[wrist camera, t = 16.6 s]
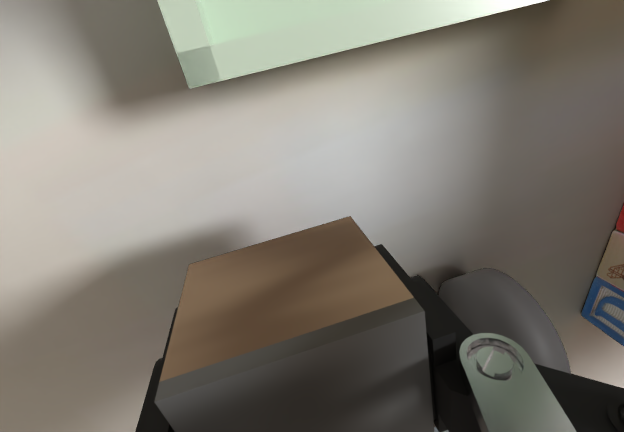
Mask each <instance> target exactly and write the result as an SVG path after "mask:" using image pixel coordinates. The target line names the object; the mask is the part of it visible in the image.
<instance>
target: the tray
mask: <svg viewBox="0 0 624 432" xmlns="http://www.w3.org/2000/svg"><path fill="white" fill-rule="evenodd" d="M544 1H548V0H157V2H158V4H159V7H160V10H161V13H162V15H163V18H164V21H165V24H166V26H167V29H168V32H169V35H170V37H171V40H172V43H173V46H174V48H175V51H176V54H177V57H178V59H179V62H180V65H181V68H182V70H183V73H184V76H185V79H186V81H187V84H188V87H189V89H191V88H195V87H199V86H203V85H207V84H211V83H215V82H219V81H223V80H227V79H231V78H236V77H240V76H244V75H248V74H252V73H256V72H260V71H264V70H268V69H272V68H276V67H280V66H284V65H288V64H292V63H296V62H300V61H305V60H309V59H313V58H317V57H321V56H325V55H329V54H333V53H337V52H341V51H345V50H349V49H353V48H357V47H361V46H365V45H369V44H373V43H378V42H382V41H386V40H390V39H394V38H398V37H402V36H406V35H410V34H414V33H418V32H422V31H426V30H430V29H434V28H438V27H442V26H447V25H451V24H455V23H459V22H463V21H467V20H471V19H475V18H479V17H483V16H487V15H491V14H495V13H499V12H503V11H507V10H511V9H515V8H520V7H524V6H528V5H532V4H536V3H540V2H544Z"/></svg>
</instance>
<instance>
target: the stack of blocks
mask: <svg viewBox="0 0 624 432" xmlns="http://www.w3.org/2000/svg"><path fill="white" fill-rule="evenodd" d="M581 316H582V317H584V318H585V319H587V320H588V321H589V322H591V323H592V324H594V325H595V326H596V327H598V328H599V329H601V330H602V331H603V332H604V333H606V334H607V335H609V336H610V337H612V338H613V339H614V340H616V341H617V342H618V343H620V344H621V345H623V346H624V205H623V207H622V210H621V213H620V215H619V218H618V221H617V223H616V229H615V230H614V231H613V232H612V235H611V238H610V240H609V243H608V246H607V248H606V251H605V253H604V256H603V258H602V261H601V263H600V266H599V268H598V271H597V274H596V277H595V279H594V281H593V283H592V286H591V289H590V291H589V294H588V297H587V299H586V302H585V305H584V307H583V310H582V313H581Z"/></svg>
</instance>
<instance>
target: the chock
mask: <svg viewBox="0 0 624 432" xmlns="http://www.w3.org/2000/svg"><path fill="white" fill-rule="evenodd" d="M154 402H155V404H156V405H157V407H158V408H159V410H160V411H161V412H162V414H163V415H164V417H165V418H166V420H167V421H168V422H169V424H170V425H171V427H172V428H173V430H174V431H175V432H434V420H433V408H432V395H431V383H430V371H429V358H428V346H427V334H426V322H425V311H424V310H423V308H422V307H421V306H420V305H419V303H418V302H417V301H416V299H415V298H414V297H413V296H412V294H411V293H410V292H409V290H408V289H407V288H406V287H405V285H404V284H403V283H402V282H401V280H400V279H399V278H398V276H397V275H396V274H395V273H394V271H393V270H392V269H391V267H390V266H389V265H388V264H387V262H386V261H385V260H384V259H383V257H382V256H381V255H380V253H379V252H378V251H377V250H376V248H375V247H374V246H373V245H372V243H371V242H370V241H369V239H368V238H367V237H366V236H365V234H364V233H363V232H362V230H361V229H360V228H359V227H358V225H357V224H356V223H355V222H354V220H353V219H352V218H351V216H349V217H346V218H343V219H339V220H336V221H333V222H329V223H326V224H322V225H319V226H316V227H312V228H309V229H306V230H302V231H299V232H296V233H292V234H289V235H286V236H282V237H279V238H276V239H272V240H269V241H266V242H262V243H259V244H256V245H252V246H249V247H246V248H242V249H239V250H236V251H232V252H229V253H225V254H222V255H219V256H215V257H212V258H209V259H205V260H202V261H199V262H195V263H192V264H189V267H188V271H187V275H186V279H185V283H184V287H183V290H182V294H181V298H180V302H179V306H178V310H177V314H176V318H175V322H174V326H173V330H172V334H171V338H170V342H169V346H168V350H167V354H166V358H165V362H164V366H163V370H162V374H161V377H160V381H159V385H158V389H157V393H156V397H155V401H154Z"/></svg>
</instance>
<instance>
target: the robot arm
mask: <svg viewBox="0 0 624 432" xmlns="http://www.w3.org/2000/svg"><path fill="white" fill-rule="evenodd" d="M374 247H375V248H376V250H377V251H378V252H379V253H380V255H381V256H382V257H383V259H384V260H385V261H386V262H387V264H388V265H389V266H390V267H391V269H392V270H393V271H394V273H395V274H396V275H397V276H398V278H399V279H400V280H401V282H402V283H403V284H404V285H405V287H406V288H407V289H408V290H409V292H410V293H411V294H412V296H413V297H414V298H415V299H416V301H417V302H418V303H419V305H420V306H421V307H422V308H423V310H424V311H425V322H426V334H427V346H428V358H429V371H430V383H431V395H432V408H433V420H434V424H435V426H436V428H437V430H438V431H439V432H444V431H446V430H448V431H449V432H624V388H620V387H616V386H613V385H609V384H606V383H602V382H599V381H595V380H592V379H588V378H584V377H581V376H577V375H574V374H570V373H567V372H563V371H559V370H556V369H552V368H549V367H545V366H542V365H538V364H535V363H533V361H532V360H531V358H530V356H529V355H528V354H527V352H526V351H525V350H524V349H523V348H522V347H521V346H520V345H519V344H517V343H516V342H514V341H513V340H511V339H509V338H507V337H504V336H502V335H498V334H493V333H479V334H475V335H474V334H473V333H472V332H471V331H470V330H469V329H468V328H467V327H466V326H465V324H464V323H463V322H462V321H461V320H460V319H459V318H458V317H457V316H456V314H455V313H454V312H453V311H452V310H451V309H450V308H449V307H448V306H447V305H446V303H445V302H444V301H443V300H442V299H441V298H440V297H439V296H438V295H437V293H436V292H435V291H434V290H433V289H432V288H431V287H430V286H429V285H428V283H427V282H426V281H425V280H424V279H423V278H422V277H421V276H418V275H417V276H414V277H411V278H410V277H409V276H408V275H407V274H406V273H405V271H404V270H403V269H402V268H401V267H400V265H399V264H398V263H397V262H396V261H395V259H394V258H393V257H392V256H391V255H390V253H389V252H388V251H387V250H386V249H385V248H384V246H383V245H381V244H380V245H377V246H374ZM177 310H178V308H176V310H175V313H174V317H173V321H172V324H171V328H170V332H169V336H168V339H167V343H166V347H165V351H164V354H163V358H161V359H159V360H158V361H157V362H156V364H155V366H154V369H153V372H152V376H151V379H150V383H149V386H148V390H147V393H146V397H145V400H144V404H143V407H142V411H141V414H140V418H139V421H138V425H137V428H136V432H175V431H174V430H173V428H172V427H171V425H170V424H169V422H168V421H167V420H166V418H165V417H164V415H163V414H162V412H161V411H160V410H159V408H158V407H157V405H156V404H155V402H154V401H155V397H156V393H157V389H158V385H159V381H160V377H161V374H162V370H163V366H164V362H165V358H166V354H167V350H168V346H169V342H170V338H171V334H172V330H173V326H174V322H175V318H176V314H177Z"/></svg>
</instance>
